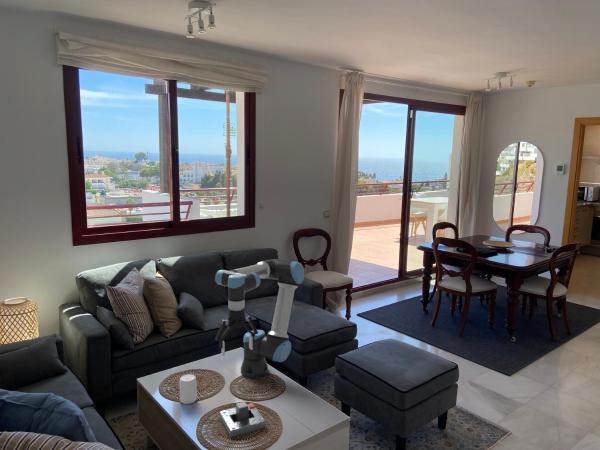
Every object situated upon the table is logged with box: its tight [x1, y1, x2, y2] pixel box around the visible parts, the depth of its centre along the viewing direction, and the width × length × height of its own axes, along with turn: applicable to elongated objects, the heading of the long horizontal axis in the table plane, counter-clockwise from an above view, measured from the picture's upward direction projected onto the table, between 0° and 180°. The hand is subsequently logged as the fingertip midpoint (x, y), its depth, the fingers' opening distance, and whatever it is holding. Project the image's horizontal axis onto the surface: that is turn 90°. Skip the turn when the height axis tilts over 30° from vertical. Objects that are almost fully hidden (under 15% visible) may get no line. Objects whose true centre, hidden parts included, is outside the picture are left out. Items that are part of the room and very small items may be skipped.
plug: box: [235, 401, 249, 422], centre depth 201 cm, size 4×4×8 cm
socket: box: [219, 402, 266, 438], centre depth 202 cm, size 16×16×4 cm
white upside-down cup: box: [178, 373, 198, 405], centre depth 218 cm, size 8×8×12 cm
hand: (237, 351), depth 209 cm, fingers open, 13 cm apart
